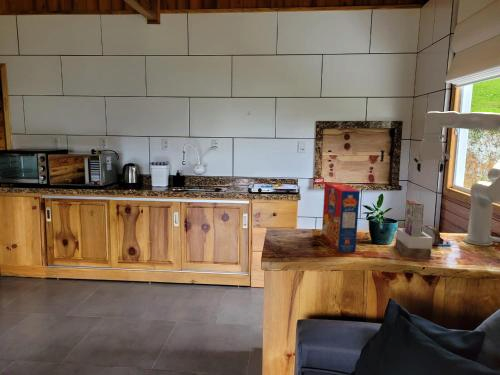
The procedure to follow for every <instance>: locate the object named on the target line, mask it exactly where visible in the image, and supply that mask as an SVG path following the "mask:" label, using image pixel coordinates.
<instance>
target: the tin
mask: <svg viewBox="0 0 500 375" xmlns="http://www.w3.org/2000/svg"><path fill="white" fill-rule="evenodd" d="M422 232H424V233H425V234H427V235H429V236H430V237H432V238H433V240H432V246H439V245H440V244H441V233H440V231H439V229H438V228H437V227H435V226H433V225H431V224H428V225H424V226H422Z"/></svg>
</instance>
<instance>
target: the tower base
mask: <svg viewBox="0 0 500 375" xmlns="http://www.w3.org/2000/svg"><path fill="white" fill-rule="evenodd" d="M394 245H395V247H396V249H397V251H398V253H399V255H400V257H404V258H406V257H408V258H416V259H427V260H431V256H432V249H419V248H408V247H407V246H405V245H404V244H403V243H402V242H400V241H399V240H398V239H397V238H396V237H395V243H394Z"/></svg>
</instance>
